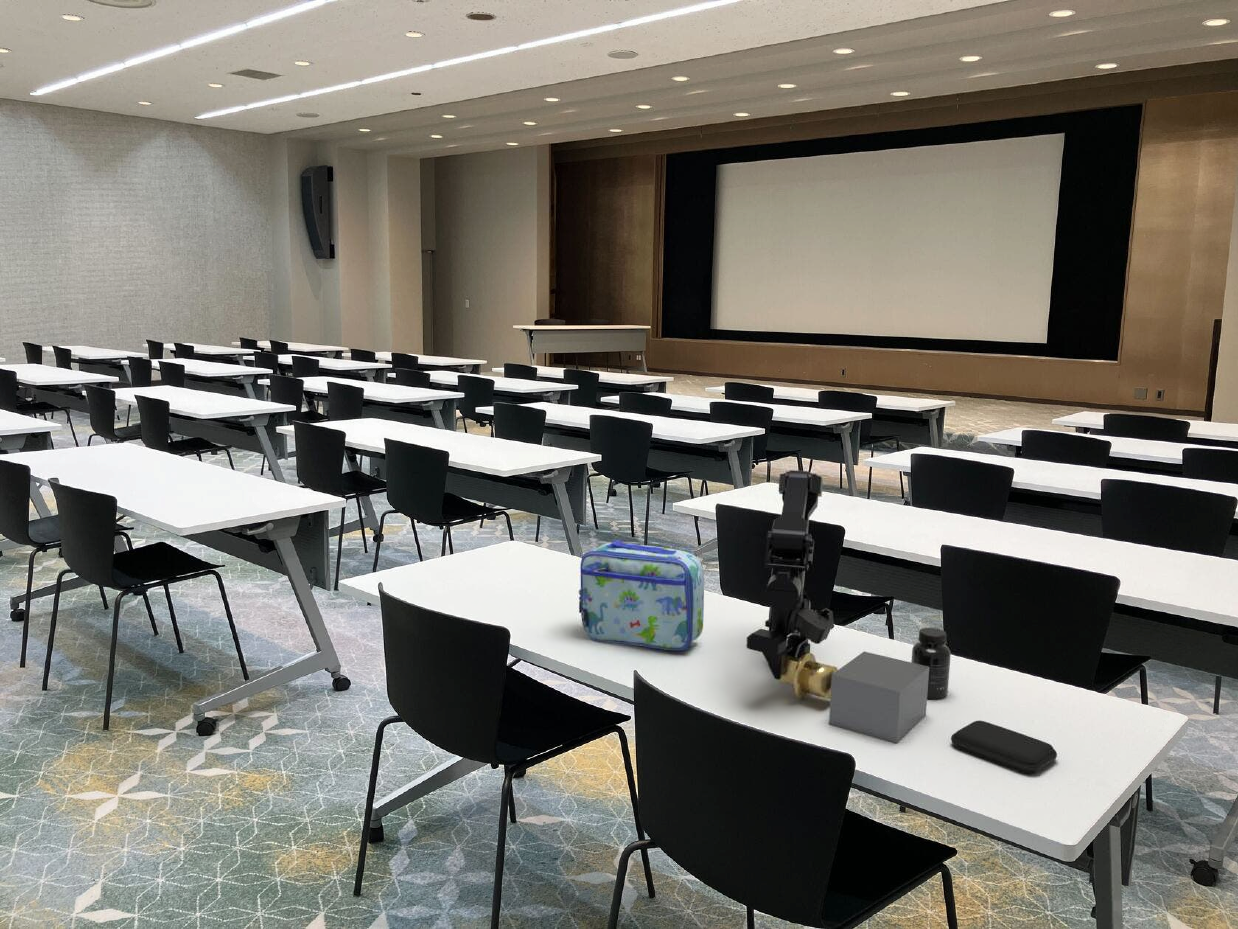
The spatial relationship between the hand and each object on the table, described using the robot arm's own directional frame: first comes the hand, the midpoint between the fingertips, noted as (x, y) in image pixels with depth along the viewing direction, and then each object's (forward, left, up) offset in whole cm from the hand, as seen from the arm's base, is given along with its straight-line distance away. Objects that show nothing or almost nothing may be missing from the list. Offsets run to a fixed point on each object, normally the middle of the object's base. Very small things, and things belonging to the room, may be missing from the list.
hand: (783, 675), depth 181 cm
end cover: (+4, 0, -3) cm, 5 cm away
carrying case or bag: (+39, +1, -4) cm, 40 cm away
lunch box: (-37, +6, -4) cm, 37 cm away
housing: (+18, 0, -4) cm, 19 cm away
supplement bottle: (+21, +17, -4) cm, 28 cm away
